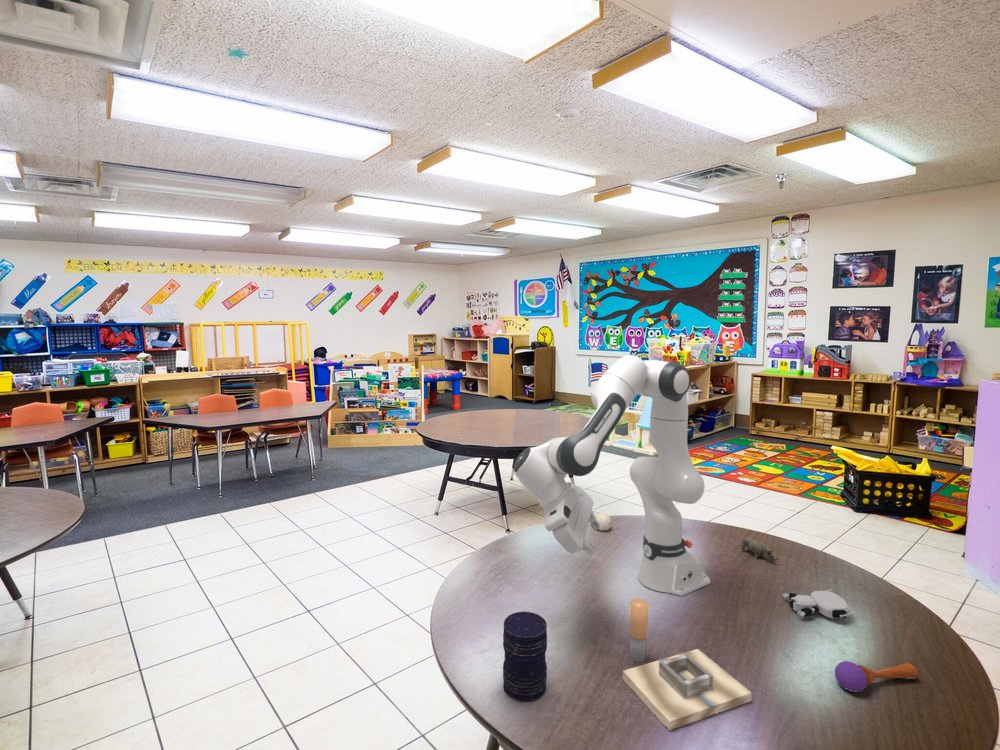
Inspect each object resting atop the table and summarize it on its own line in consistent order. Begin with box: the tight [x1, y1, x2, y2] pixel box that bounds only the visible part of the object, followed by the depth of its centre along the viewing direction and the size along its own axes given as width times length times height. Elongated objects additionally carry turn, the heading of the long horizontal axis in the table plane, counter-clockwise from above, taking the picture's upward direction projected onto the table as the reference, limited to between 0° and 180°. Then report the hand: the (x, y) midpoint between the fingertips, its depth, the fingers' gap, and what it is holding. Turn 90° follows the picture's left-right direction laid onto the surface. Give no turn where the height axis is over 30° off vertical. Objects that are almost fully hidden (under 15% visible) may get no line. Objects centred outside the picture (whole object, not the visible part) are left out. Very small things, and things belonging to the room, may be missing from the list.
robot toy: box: [782, 589, 857, 620], centre depth 143 cm, size 12×4×15 cm
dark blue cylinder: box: [502, 611, 548, 703], centre depth 113 cm, size 10×10×15 cm
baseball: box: [595, 512, 612, 531], centre depth 201 cm, size 7×7×7 cm
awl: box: [629, 598, 649, 663], centre depth 123 cm, size 4×4×14 cm
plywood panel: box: [621, 648, 752, 731], centre depth 112 cm, size 22×16×5 cm
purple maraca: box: [834, 660, 919, 693], centre depth 115 cm, size 6×6×20 cm
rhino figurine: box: [740, 536, 778, 563], centre depth 177 cm, size 4×14×6 cm, turn 24°
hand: (595, 539), depth 132 cm, fingers open, 8 cm apart
